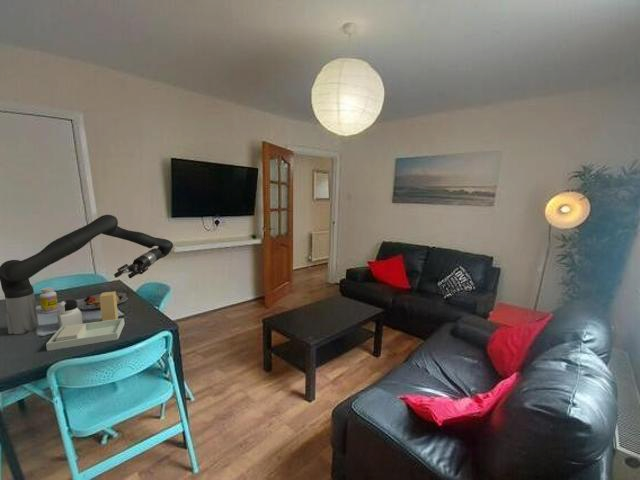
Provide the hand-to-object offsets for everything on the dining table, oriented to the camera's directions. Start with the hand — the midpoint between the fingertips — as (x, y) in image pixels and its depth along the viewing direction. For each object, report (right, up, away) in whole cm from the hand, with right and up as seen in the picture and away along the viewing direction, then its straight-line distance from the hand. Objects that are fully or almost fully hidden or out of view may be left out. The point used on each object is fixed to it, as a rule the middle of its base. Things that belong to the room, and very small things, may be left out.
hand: (122, 276), depth 147 cm
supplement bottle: (-45, -20, +8) cm, 50 cm away
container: (-19, -23, -8) cm, 31 cm away
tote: (-2, -25, -18) cm, 31 cm away
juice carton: (-4, -23, -2) cm, 23 cm away
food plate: (-26, -18, +22) cm, 38 cm away
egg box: (-8, -25, -20) cm, 33 cm away
